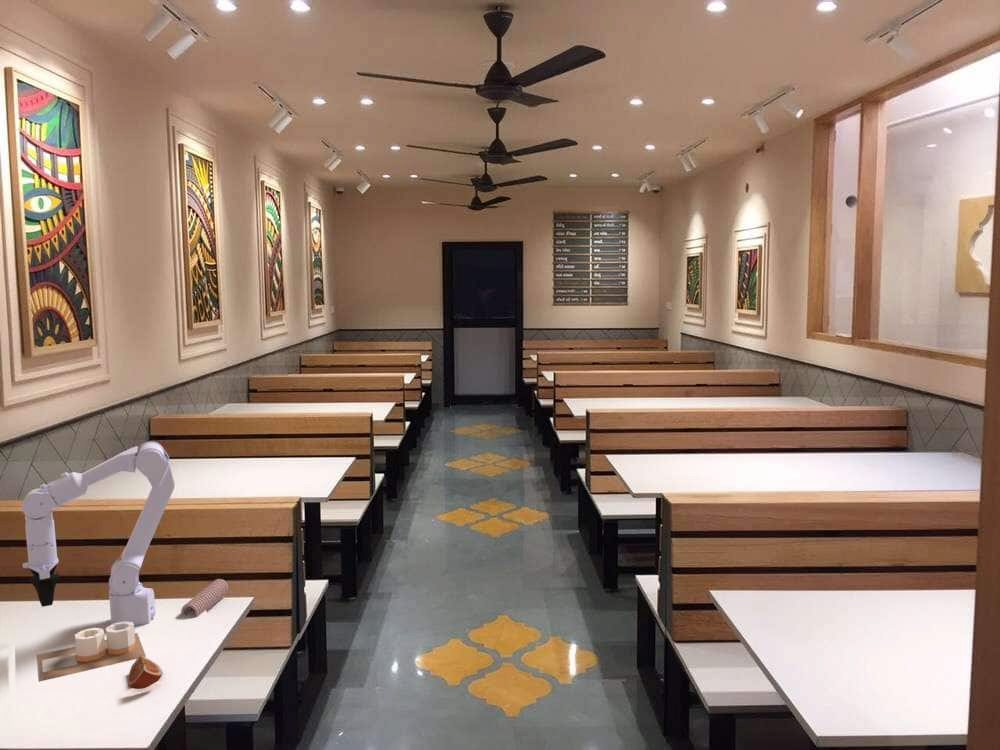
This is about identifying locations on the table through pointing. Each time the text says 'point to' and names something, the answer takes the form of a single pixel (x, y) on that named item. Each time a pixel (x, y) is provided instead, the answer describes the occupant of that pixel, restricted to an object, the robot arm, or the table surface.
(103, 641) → the sleeve
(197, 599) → the coil
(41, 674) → the pin board
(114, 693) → the table surface
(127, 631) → the seated sleeve
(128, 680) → the fruit slice
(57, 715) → the table surface
